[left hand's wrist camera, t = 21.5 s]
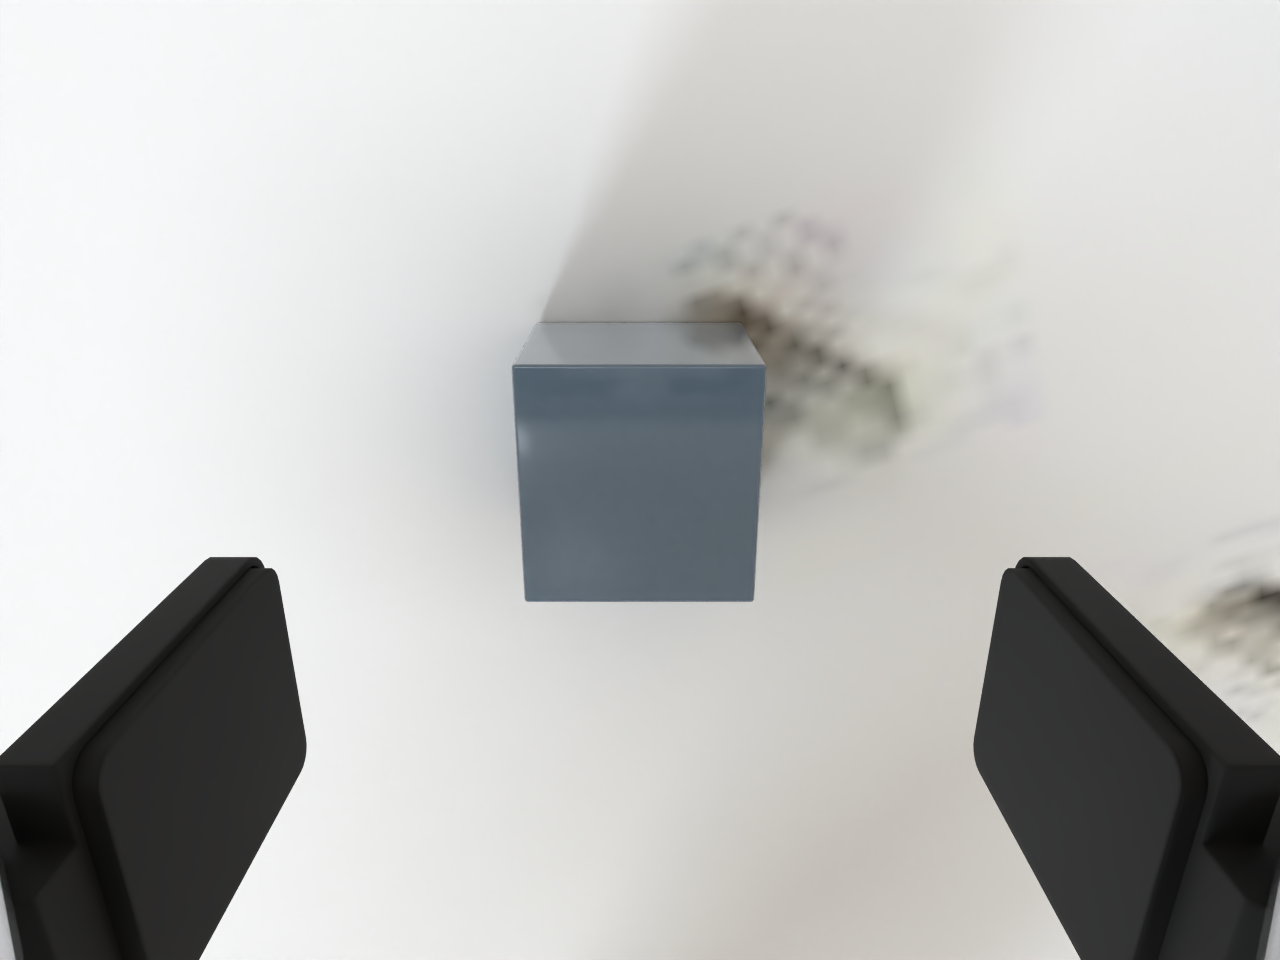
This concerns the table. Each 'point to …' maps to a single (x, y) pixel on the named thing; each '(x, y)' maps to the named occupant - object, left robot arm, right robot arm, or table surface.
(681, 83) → the table surface
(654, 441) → the block
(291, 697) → the left robot arm
